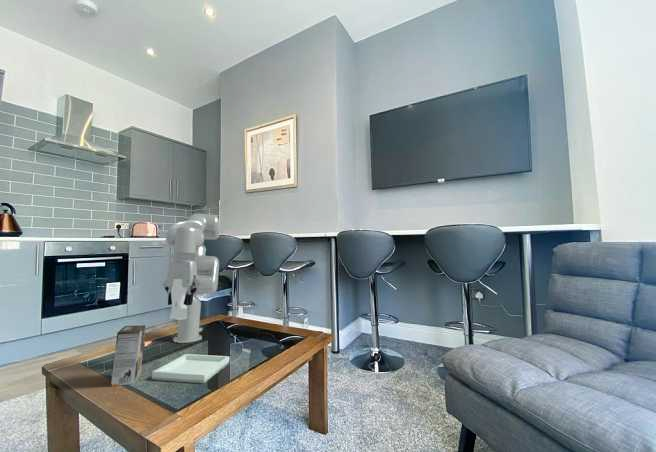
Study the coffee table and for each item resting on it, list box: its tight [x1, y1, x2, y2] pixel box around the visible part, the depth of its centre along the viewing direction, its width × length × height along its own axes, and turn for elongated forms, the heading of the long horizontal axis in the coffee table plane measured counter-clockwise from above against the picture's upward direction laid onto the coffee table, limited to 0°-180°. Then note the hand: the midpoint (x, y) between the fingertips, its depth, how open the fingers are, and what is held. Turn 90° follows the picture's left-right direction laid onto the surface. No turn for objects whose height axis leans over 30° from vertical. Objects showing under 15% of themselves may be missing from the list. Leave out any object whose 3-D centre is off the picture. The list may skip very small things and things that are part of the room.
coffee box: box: [110, 325, 147, 386], centre depth 90 cm, size 9×6×16 cm
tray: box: [151, 353, 230, 384], centre depth 98 cm, size 18×18×2 cm
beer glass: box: [169, 279, 191, 321], centre depth 106 cm, size 7×7×15 cm
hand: (180, 304), depth 106 cm, fingers closed on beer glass, 6 cm apart
